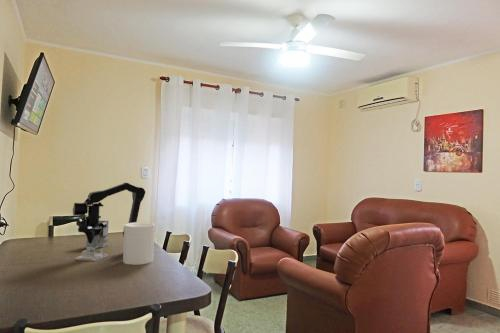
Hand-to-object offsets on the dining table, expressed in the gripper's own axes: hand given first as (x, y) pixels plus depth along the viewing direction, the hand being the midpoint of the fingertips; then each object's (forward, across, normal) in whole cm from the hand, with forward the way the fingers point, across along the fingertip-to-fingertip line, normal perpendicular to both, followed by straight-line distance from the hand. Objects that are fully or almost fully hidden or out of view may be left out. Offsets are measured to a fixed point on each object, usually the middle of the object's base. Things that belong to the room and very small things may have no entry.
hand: (92, 242), depth 188 cm
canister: (+9, -1, +27) cm, 28 cm away
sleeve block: (+8, 0, 0) cm, 8 cm away
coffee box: (+9, -26, -12) cm, 30 cm away
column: (+3, 0, 0) cm, 3 cm away
